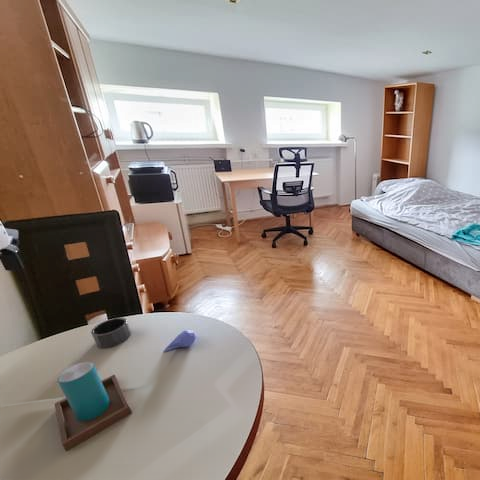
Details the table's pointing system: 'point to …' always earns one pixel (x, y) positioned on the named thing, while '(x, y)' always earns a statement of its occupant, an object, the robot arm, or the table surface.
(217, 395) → the table surface
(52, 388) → the table surface
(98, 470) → the table surface
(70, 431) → the tray
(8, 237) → the robot arm
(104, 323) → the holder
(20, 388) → the table surface
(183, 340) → the blue teardrop shape
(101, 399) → the can
